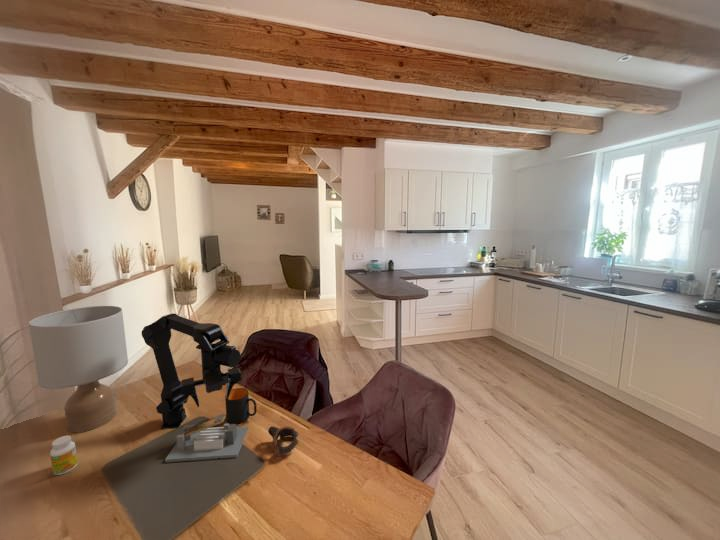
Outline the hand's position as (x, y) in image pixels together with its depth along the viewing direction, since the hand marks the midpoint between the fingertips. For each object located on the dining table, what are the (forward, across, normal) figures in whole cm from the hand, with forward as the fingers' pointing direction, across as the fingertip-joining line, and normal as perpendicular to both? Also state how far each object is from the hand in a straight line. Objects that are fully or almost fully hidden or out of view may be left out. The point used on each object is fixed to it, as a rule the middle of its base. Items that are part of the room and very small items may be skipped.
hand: (213, 402), depth 101 cm
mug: (+13, +10, +4) cm, 17 cm away
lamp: (+14, -38, +33) cm, 52 cm away
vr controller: (+13, +19, -18) cm, 29 cm away
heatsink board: (+13, -2, -4) cm, 14 cm away
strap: (+6, -4, -3) cm, 8 cm away
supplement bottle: (+14, -40, +8) cm, 44 cm away
